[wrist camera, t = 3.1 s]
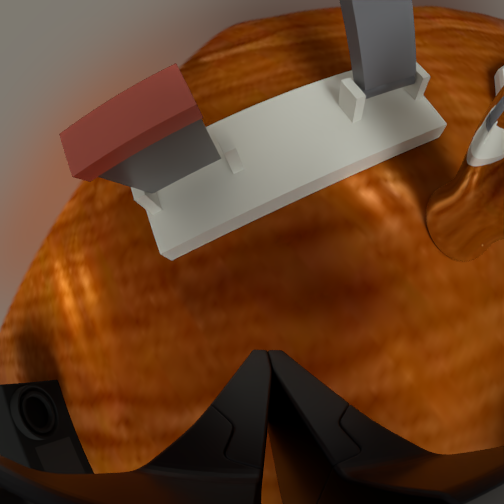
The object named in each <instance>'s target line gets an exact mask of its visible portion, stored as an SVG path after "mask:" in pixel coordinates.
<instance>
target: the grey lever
mask: <svg viewBox="0 0 504 504" xmlns="http://www.w3.org/2000/svg"><path fill="white" fill-rule="evenodd" d="M340 4H341V9H342V14H343V19H344V24H345V29H346V35H347V40H348V46H349V52H350V59H351V65H352V72H353V79H354V82H355V84H356V85H357V86H358V87H359V88H360V89H361V90H362V92H363V93H364V94H365V95H366V99H368V98H371V97H374V96H377V95H380V94H383V93H386V92H389V91H392V90H395V89H399V88H402V87H405V86H408V85H412V84H414V83H415V75H416V48H415V30H414V17H413V7H412V0H340Z"/></svg>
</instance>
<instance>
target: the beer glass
mask: <svg viewBox="0 0 504 504" xmlns="http://www.w3.org/2000/svg"><path fill="white" fill-rule="evenodd" d="M426 224H427V228H428V231H429V234H430V236H431V238H432V240H433V242H434V243H435V245H436V246H437V247H438V248H439V250H440V251H441V252H443V253H444V254H445V255H446V256H448V257H450V258H452V259H454V260H457V261H471V260H474V259H476V258H478V257H479V256H481V255H482V254H483V253H484V252H485V251H486V250H487V249H488V248H489V247H490V246H491V245H492V244H493V243H495V242H496V241H499V240H502V239H504V86H503V87H502V88H501V90H500V91H499V93H498V94H497V95H496V97H495V98H494V100H493V101H492V103H491V104H490V106H489V107H488V109H487V111H486V112H485V114H484V116H483V117H482V119H481V121H480V123H479V125H478V127H477V129H476V131H475V133H474V135H473V137H472V140H471V142H470V144H469V147H468V149H467V152H466V154H465V156H464V159H463V161H462V164H461V166H460V168H459V170H458V172H457V174H456V175H455V177H454V178H453V179H452V180H451V181H450V182H449V183H447V184H445V185H444V186H442V187H440V188H439V189H437V190H436V191H435V192H434V193H433V194H432V196H431V197H430V199H429V201H428V204H427V208H426Z"/></svg>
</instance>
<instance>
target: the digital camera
mask: <svg viewBox="0 0 504 504" xmlns="http://www.w3.org/2000/svg"><path fill="white" fill-rule="evenodd" d="M0 455H1V456H3V457H5V458H8V459H10V460H12V461H14V462H16V463H19V464H21V465H23V466H26V467H28V468H31V469H35V470H38V471H43V472H49V473H58V474H94V473H93V471H92V469H91V467H90V465H89V462H88V460H87V458H86V456H85V453H84V451H83V449H82V446H81V444H80V442H79V439H78V437H77V434H76V432H75V429H74V427H73V424H72V421H71V419H70V416H69V413H68V410H67V408H66V405H65V402H64V399H63V396H62V393H61V390H60V387H59V384H58V381H57V380H50V381H40V382H30V383H18V384H4V385H0Z"/></svg>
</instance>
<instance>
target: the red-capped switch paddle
mask: <svg viewBox="0 0 504 504" xmlns="http://www.w3.org/2000/svg"><path fill="white" fill-rule="evenodd" d="M202 118H203V116H202V114H201V112H200V110H199V108H198V106H197V104H196V102H195V100H194V98H193V96H192V94H191V92H190V90H189V88H188V86H187V84H186V82H185V80H184V78H183V76H182V74H181V72H180V70H179V68H178V66H177V64H174V65H171V66H169V67H167V68H165V69H163V70H161V71H159V72H158V73H156V74H154V75H152V76H150V77H148V78H146V79H144V80H142V81H141V82H139V83H137V84H136V85H134V86H132V87H130V88H128V89H127V90H125V91H123V92H122V93H120V94H118V95H116V96H115V97H113V98H112V99H110V100H108V101H107V102H105V103H104V104H102V105H101V106H99V107H97V108H96V109H95V110H93V111H91V112H90V113H88V114H87V115H85V116H84V117H82V118H81V119H80V120H78V121H77V122H75V123H74V124H72V125H71V126H70V127H68V128H67V129H66V130H64V131H63V132H61V133H60V138H61V142H62V145H63V148H64V151H65V155H66V158H67V161H68V165H69V168H70V171H71V173H72V177H75V178H79V179H82V180H86V181H92V180H93V179H95V178H96V177H101V178H104V179H107V180H110V181H114V182H117V183H120V184H123V185H126V186H130V187H133V188H136V189H139V190H142V191H145V192H149V193H155V192H157V191H159V190H161V189H163V188H165V187H166V186H168V185H170V184H172V183H174V182H176V181H178V180H180V179H182V178H184V177H185V176H187V175H189V174H191V173H193V172H195V171H197V170H199V169H201V168H203V167H205V166H207V165H209V164H211V163H213V162H215V161H217V160H220V159H221V157H220V155H219V153H218V151H217V149H216V147H215V145H214V143H213V141H212V139H211V137H210V135H209V133H208V131H207V129H206V127H205V125H204V123H203V121H202Z"/></svg>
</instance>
